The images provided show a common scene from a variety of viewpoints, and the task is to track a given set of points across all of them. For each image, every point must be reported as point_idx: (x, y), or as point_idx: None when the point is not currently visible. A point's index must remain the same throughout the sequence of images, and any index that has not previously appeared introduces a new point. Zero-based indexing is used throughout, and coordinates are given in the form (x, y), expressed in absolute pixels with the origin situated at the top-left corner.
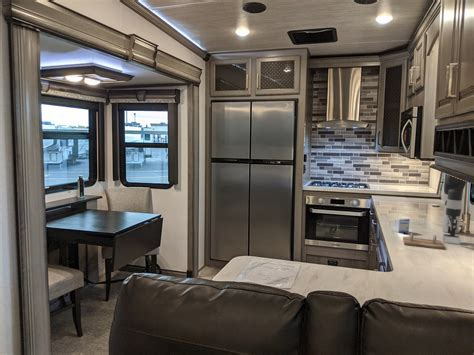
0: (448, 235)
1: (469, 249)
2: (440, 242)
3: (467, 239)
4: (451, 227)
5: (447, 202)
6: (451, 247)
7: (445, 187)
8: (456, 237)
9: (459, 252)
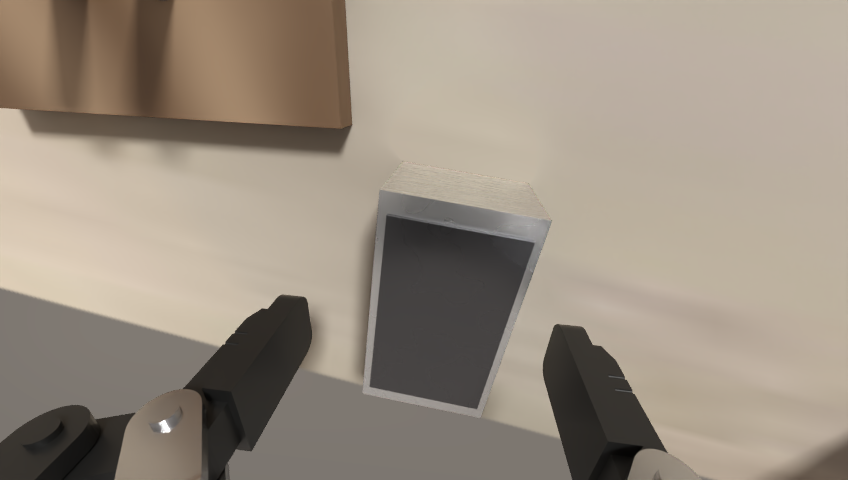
0: (437, 288)
1: None
2: (224, 103)
3: None
4: (23, 468)
5: None
6: (199, 215)
7: None
8: (373, 359)
9: (62, 245)
